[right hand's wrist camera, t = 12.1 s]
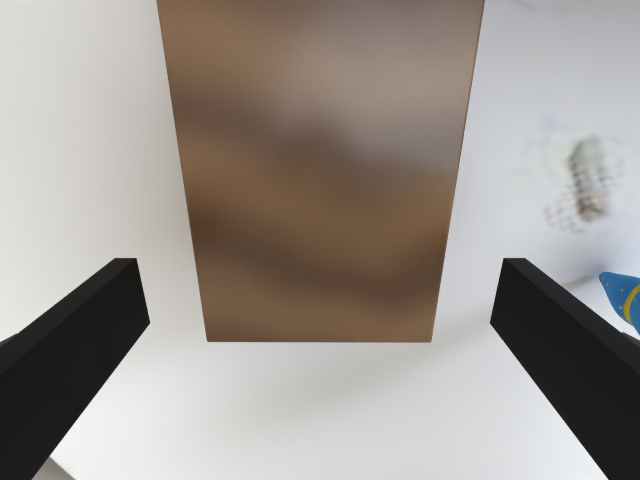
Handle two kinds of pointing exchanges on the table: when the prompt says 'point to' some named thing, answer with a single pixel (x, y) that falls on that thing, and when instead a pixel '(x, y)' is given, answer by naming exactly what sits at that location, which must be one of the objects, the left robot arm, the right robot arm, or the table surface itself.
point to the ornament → (623, 296)
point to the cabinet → (320, 160)
